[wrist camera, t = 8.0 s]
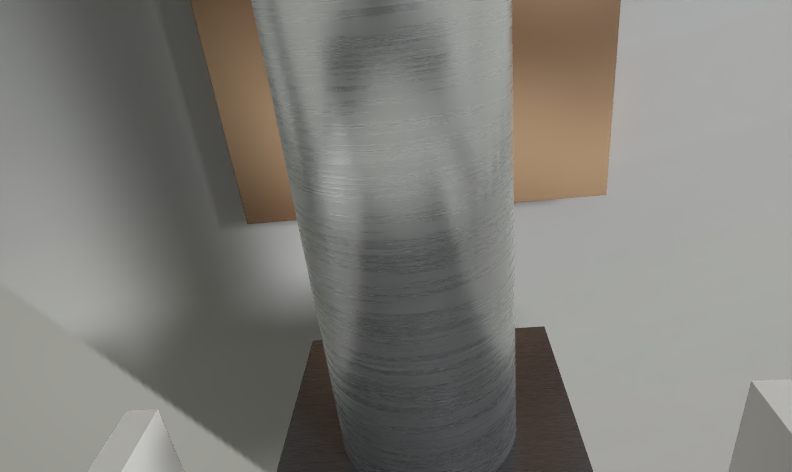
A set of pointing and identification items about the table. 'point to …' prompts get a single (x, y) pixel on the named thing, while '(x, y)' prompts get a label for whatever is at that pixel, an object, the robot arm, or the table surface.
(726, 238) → the table surface
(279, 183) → the walnut board
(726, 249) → the table surface
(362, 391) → the shaft
